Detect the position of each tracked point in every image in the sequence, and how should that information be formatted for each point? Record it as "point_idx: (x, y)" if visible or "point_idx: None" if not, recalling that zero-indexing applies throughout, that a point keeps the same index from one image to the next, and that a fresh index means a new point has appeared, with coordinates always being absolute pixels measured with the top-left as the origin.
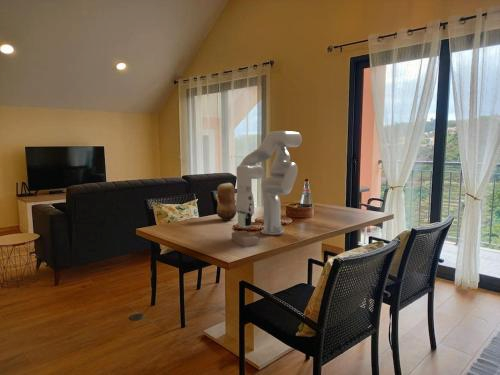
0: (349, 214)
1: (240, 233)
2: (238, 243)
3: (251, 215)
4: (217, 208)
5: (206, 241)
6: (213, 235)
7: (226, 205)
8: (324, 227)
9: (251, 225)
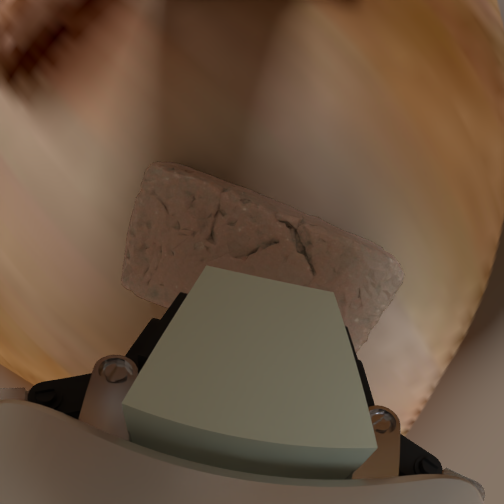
0: None
1: (193, 268)
2: None
3: (420, 460)
4: None
5: (91, 351)
6: (22, 249)
7: None
8: None
9: (335, 298)
